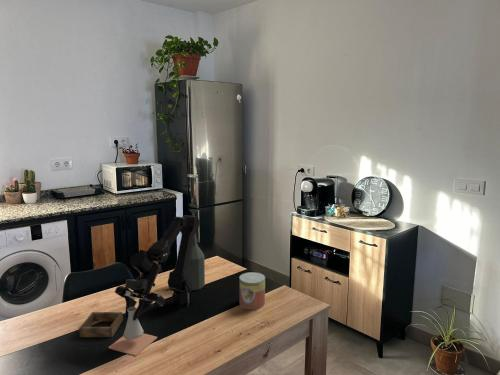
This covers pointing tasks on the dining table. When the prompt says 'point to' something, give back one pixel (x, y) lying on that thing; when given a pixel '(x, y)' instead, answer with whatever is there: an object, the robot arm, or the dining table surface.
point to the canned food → (252, 290)
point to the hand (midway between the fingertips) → (129, 319)
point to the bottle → (196, 266)
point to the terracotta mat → (133, 344)
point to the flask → (132, 326)
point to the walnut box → (101, 331)
